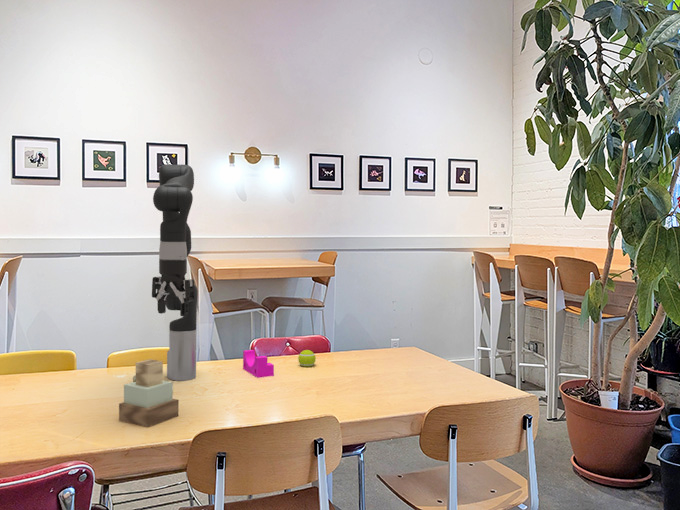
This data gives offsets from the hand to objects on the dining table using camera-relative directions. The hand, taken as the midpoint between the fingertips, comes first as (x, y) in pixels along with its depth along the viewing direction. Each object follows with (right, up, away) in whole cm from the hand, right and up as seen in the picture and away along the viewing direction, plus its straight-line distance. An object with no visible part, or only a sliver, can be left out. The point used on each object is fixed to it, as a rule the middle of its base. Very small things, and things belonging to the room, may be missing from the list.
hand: (172, 314), depth 163 cm
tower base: (-5, -28, -5) cm, 29 cm away
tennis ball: (+35, -27, +59) cm, 74 cm away
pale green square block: (-5, -23, -5) cm, 25 cm away
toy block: (+17, -27, +49) cm, 58 cm away
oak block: (-5, -18, -5) cm, 20 cm away
